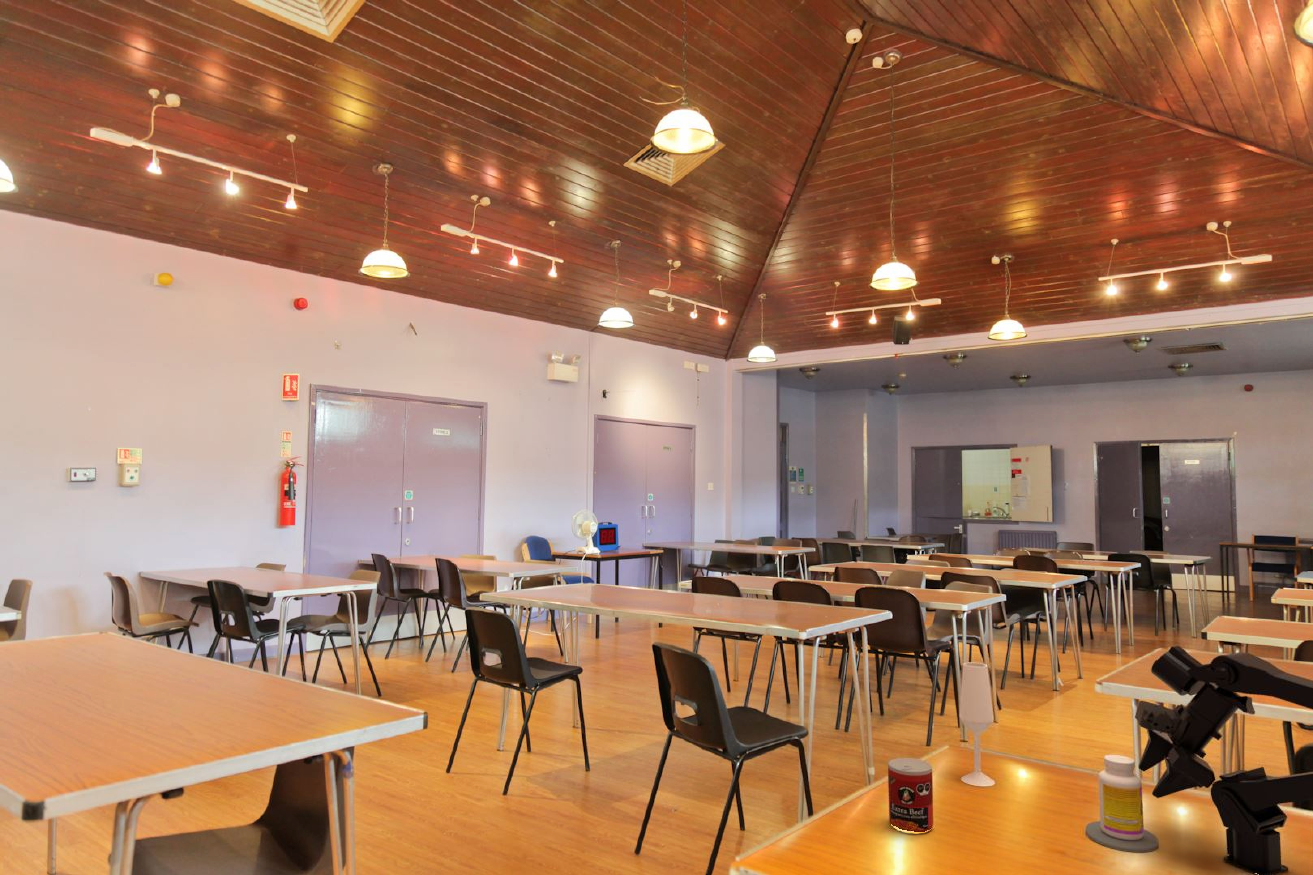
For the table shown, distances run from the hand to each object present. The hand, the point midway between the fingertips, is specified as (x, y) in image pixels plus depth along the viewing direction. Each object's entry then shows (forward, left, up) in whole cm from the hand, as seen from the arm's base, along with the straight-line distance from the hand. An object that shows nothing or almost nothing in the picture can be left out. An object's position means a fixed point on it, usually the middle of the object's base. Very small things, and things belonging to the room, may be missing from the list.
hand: (1147, 782), depth 144 cm
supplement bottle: (+2, +4, -9) cm, 10 cm away
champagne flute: (+34, +7, -10) cm, 36 cm away
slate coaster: (+2, +4, -10) cm, 11 cm away
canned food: (+20, +35, -10) cm, 42 cm away
